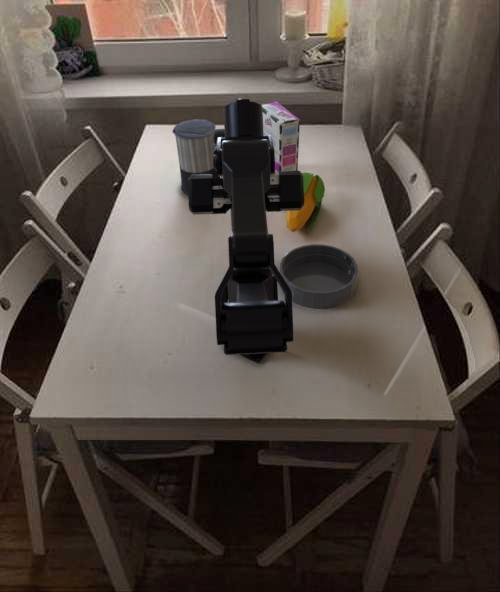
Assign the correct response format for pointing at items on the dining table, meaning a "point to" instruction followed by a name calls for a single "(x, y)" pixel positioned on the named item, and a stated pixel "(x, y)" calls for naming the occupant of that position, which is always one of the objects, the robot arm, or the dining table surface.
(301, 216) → the corn
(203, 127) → the milk frother
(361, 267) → the dining table surface
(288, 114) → the candy bar box
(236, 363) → the dining table surface
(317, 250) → the pan
